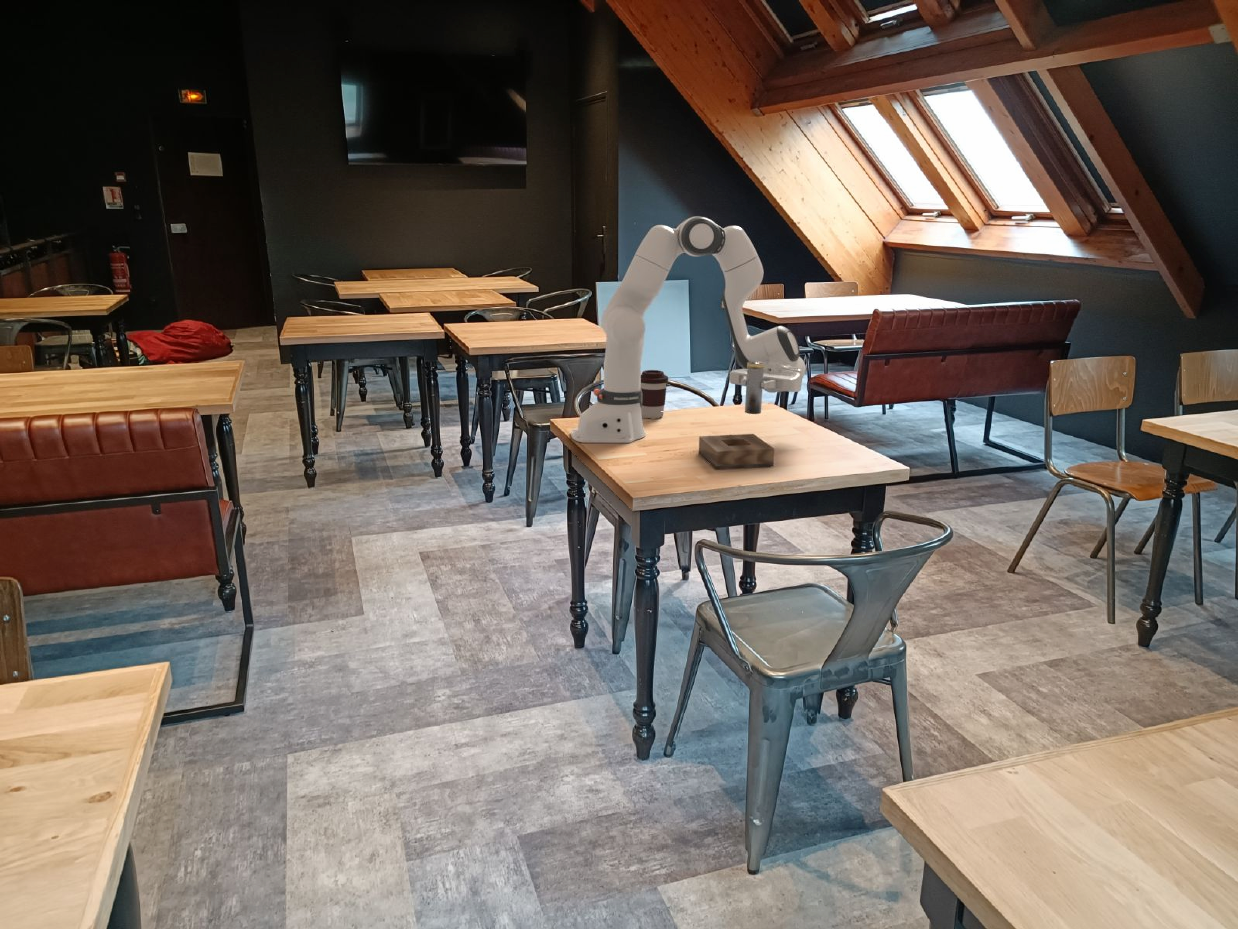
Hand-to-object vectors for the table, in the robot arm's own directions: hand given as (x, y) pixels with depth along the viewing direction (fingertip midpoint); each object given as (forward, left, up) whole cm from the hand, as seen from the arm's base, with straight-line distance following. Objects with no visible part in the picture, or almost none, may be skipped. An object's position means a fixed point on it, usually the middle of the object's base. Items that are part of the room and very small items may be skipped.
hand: (753, 384), depth 246 cm
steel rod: (+1, +1, -8) cm, 8 cm away
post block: (-7, -7, -20) cm, 22 cm away
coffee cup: (-17, +47, -20) cm, 54 cm away
